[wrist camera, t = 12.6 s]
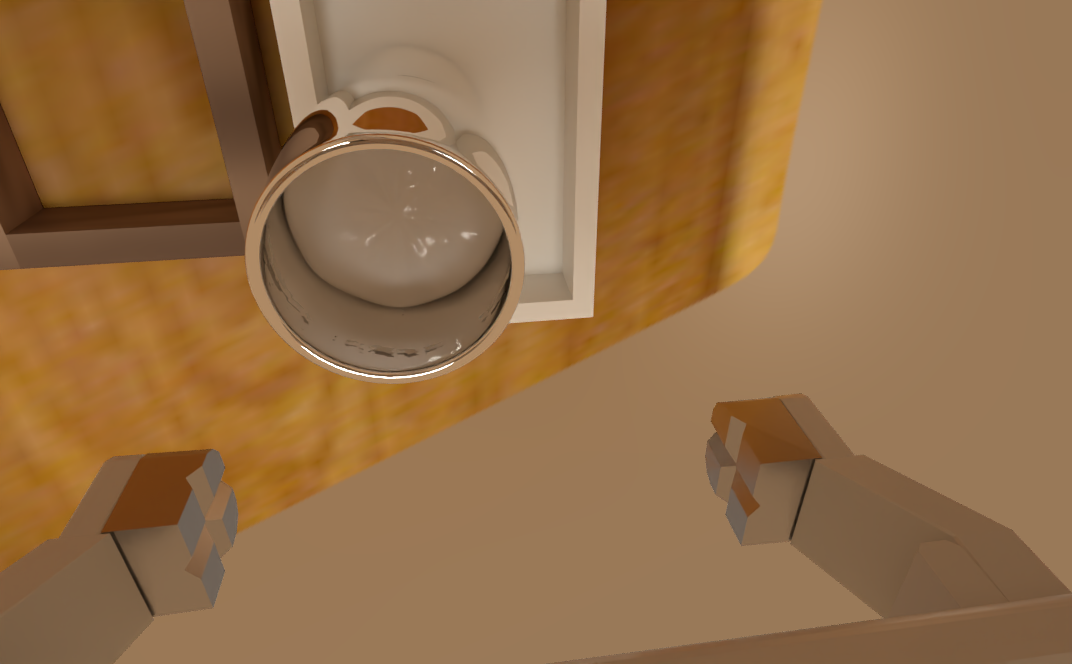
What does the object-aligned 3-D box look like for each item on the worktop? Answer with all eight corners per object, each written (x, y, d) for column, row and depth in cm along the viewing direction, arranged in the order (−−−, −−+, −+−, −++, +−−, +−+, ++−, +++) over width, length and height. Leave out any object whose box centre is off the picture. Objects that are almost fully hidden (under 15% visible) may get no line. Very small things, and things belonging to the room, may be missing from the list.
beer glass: (296, 137, 28) (180, 306, 16) (384, -6, 26) (332, 53, 13) (432, 226, 31) (429, 430, 18) (523, 104, 29) (591, 241, 16)
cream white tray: (275, -76, 25) (254, -77, 22) (589, -79, 26) (609, -80, 23) (343, 300, 33) (334, 335, 30) (579, 283, 34) (593, 317, 31)
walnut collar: (-119, -73, 23) (-187, -74, 21) (234, -76, 25) (211, -77, 22) (20, 242, 30) (-19, 271, 27) (296, 226, 31) (284, 253, 28)
